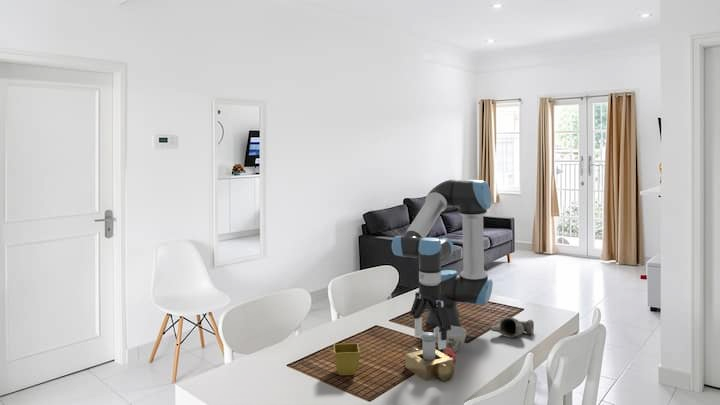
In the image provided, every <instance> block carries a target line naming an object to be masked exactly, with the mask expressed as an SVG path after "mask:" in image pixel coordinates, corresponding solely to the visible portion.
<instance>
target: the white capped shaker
mask: <svg viewBox="0 0 720 405" xmlns="http://www.w3.org/2000/svg"><path fill="white" fill-rule="evenodd" d="M421 340H422V350H423V359H424V360H426V361H427V362H428V361H432V360H436V356H435V349H436V347H435V345H436V334H435V333H434V332H431V331H426V332H422V335H421Z"/></svg>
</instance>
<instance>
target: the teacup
mask: <svg viewBox="0 0 720 405" xmlns="http://www.w3.org/2000/svg"><path fill="white" fill-rule="evenodd" d="M442 327H443V326H442ZM447 327H448V326H447ZM438 330H440V329H439V326H438V327H434V329H433V333H435V334H436V340H435V343H436V344H435V348H438ZM467 332H468V331H467V329H466V328H465V327H462V326H452V325H451V330H448V331H447V339H446V348H444V349H447V348H450V349H452V350H453V352H454V353H456V352H458V350H459V349H461V348H462V347H463V345H464V343H465V340H466V337H467ZM444 349H442V352H443V351H444Z"/></svg>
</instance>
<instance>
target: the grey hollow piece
mask: <svg viewBox="0 0 720 405" xmlns="http://www.w3.org/2000/svg"><path fill="white" fill-rule="evenodd" d="M534 324H535V323H534V320H533V319H527V321H525V320H524V321H522V320H519V319H517V318H514V317H510V316H506V317H504V318H502V319H500V320H499V321H498V322H496V324H494V325H491V326H490V330H491V331H492V332H496V333H499V334H500V335H502V336H503V337H505V338H509V339H510V338H511V339H512V338H515V337H518V336H520V335H522V334H523V333H526V334H528V335H533V334H534V329H535V328H534V327H535V325H534Z"/></svg>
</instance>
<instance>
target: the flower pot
mask: <svg viewBox="0 0 720 405" xmlns="http://www.w3.org/2000/svg"><path fill="white" fill-rule="evenodd" d="M332 345H333V356H334V363H335V368H336V372H337V373H338V375H339V376H341V375H342V376H354V375H356V373H357V371H358V368H359V364H360V355H361V354H360V351H361V350H360V347H359V343H357V342H356V343H355V342H354V343H353V342H351V343H335V344H332Z"/></svg>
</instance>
